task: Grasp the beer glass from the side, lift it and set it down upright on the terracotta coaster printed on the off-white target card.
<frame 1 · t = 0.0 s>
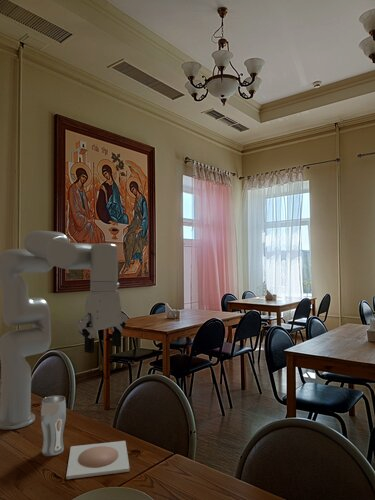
hand: (103, 349, 104), 31 cm above the table, tool pointing down, fingers open, 9 cm apart
target card: (98, 459, 105), on the table
beer glass: (53, 451, 110), on the table
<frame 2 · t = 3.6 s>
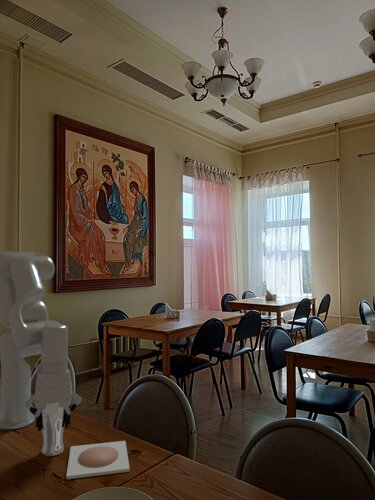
hand: (53, 427, 110), 7 cm above the table, tool pointing down, fingers closed on beer glass, 6 cm apart
beer glass: (53, 451, 110), on the table, touching gripper
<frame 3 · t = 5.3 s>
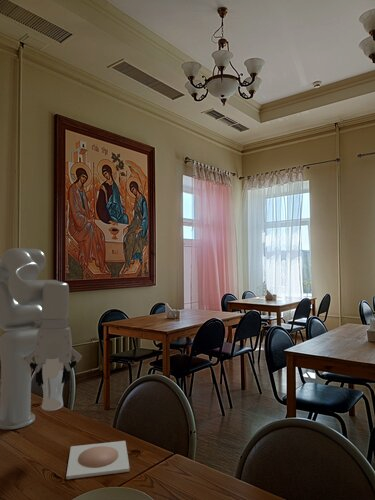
hand: (53, 383, 111), 19 cm above the table, tool pointing down, fingers closed on beer glass, 6 cm apart
beer glass: (52, 407, 111), point 12 cm above the table, touching gripper
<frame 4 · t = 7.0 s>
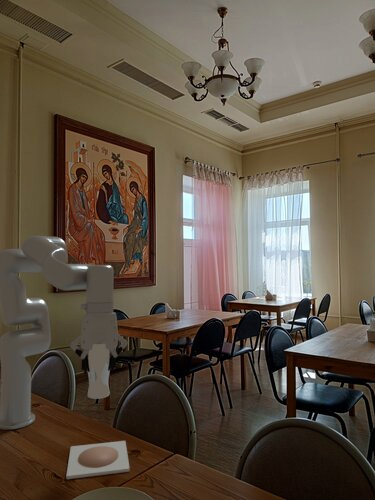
hand: (99, 370, 106), 25 cm above the table, tool pointing down, fingers closed on beer glass, 6 cm apart
beer glass: (98, 395, 106), point 18 cm above the table, touching gripper
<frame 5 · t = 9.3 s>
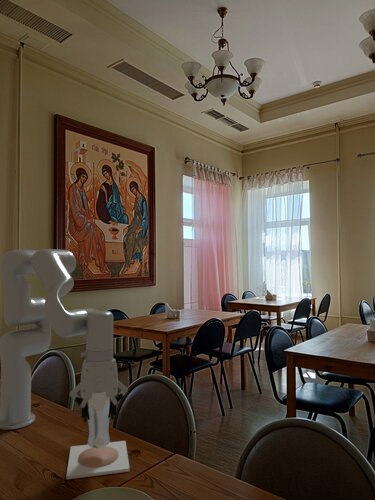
hand: (99, 418, 106), 11 cm above the table, tool pointing down, fingers closed on beer glass, 6 cm apart
beer glass: (98, 443, 105), point 4 cm above the table, touching gripper
when the fingers open (9 cm above the table, at t = 10.8 s): beer glass drops 1 cm, resting on target card.
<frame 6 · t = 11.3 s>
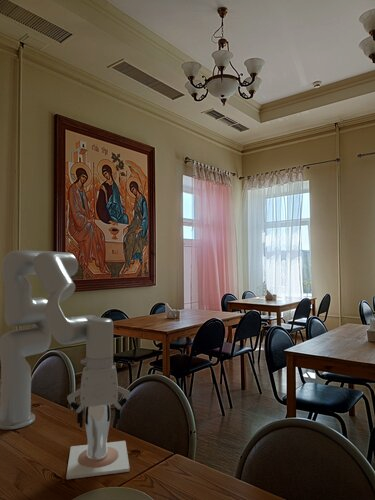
hand: (98, 423, 106), 10 cm above the table, tool pointing down, fingers open, 9 cm apart
beer glass: (97, 456, 105), point 1 cm above the table, touching target card
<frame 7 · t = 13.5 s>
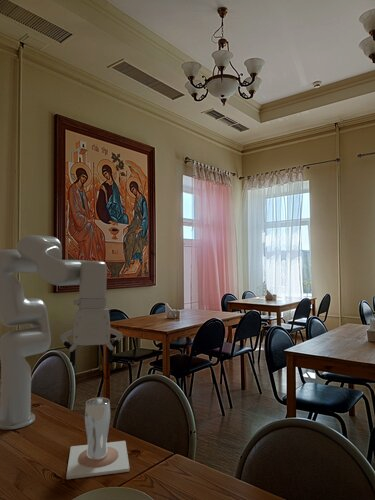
hand: (91, 363, 107), 26 cm above the table, tool pointing down, fingers open, 9 cm apart
nothing on the table moved.
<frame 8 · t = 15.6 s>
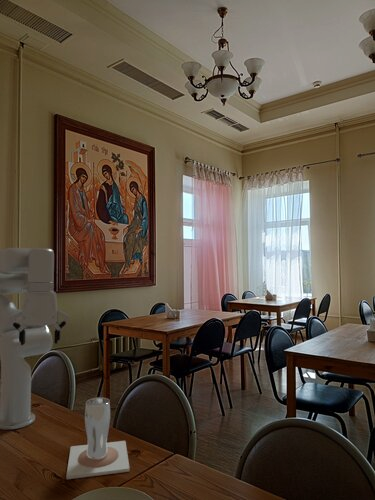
hand: (39, 343, 116), 30 cm above the table, tool pointing down, fingers open, 9 cm apart
nothing on the table moved.
at the end: beer glass 0.4 cm off-centre on the target card, point 0.9 cm above the target card's base; beer glass tilted 0°; the gripper is holding nothing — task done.
